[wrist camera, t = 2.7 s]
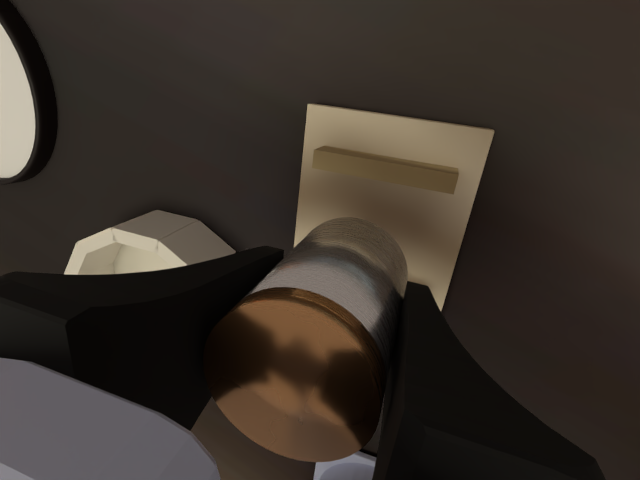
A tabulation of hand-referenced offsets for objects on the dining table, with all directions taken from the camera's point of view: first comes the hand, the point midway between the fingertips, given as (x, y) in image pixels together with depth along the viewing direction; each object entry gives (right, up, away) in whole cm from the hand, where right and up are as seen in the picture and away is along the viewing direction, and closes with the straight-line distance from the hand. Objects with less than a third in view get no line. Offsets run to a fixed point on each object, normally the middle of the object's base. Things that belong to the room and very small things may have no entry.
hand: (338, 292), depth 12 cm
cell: (+1, +1, +1) cm, 2 cm away
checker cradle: (+2, +3, +7) cm, 8 cm away
